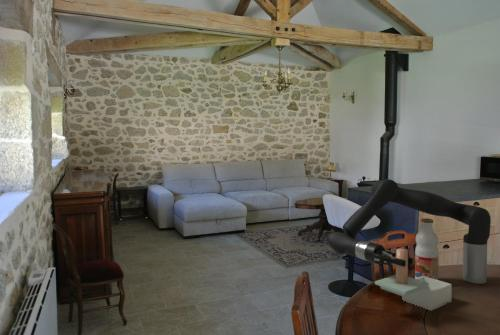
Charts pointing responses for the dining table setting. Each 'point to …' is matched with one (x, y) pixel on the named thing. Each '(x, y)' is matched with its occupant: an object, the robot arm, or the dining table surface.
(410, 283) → the peg on square base
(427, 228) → the fruit juice
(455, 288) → the dining table surface
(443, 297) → the box
